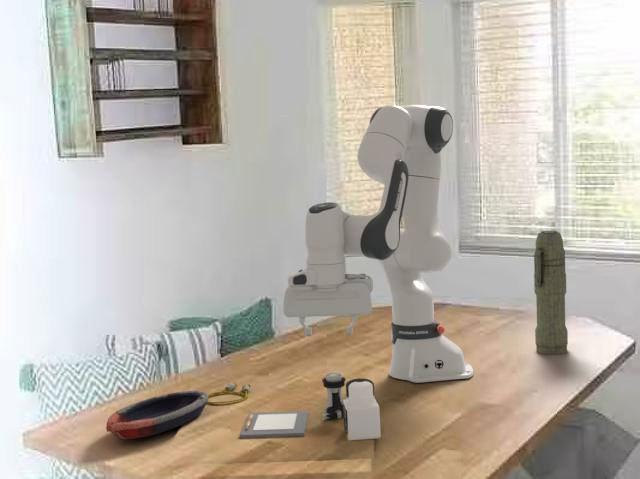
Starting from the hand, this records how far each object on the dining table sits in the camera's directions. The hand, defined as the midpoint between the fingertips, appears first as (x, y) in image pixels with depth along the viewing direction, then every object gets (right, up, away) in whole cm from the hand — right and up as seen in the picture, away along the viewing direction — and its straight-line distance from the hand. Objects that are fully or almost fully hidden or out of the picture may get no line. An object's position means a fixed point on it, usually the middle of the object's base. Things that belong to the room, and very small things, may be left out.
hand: (329, 335), depth 204 cm
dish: (-40, -22, +4) cm, 46 cm away
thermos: (+65, -11, +53) cm, 84 cm away
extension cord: (-25, -19, +25) cm, 40 cm away
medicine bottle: (+7, -21, -10) cm, 24 cm away
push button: (+1, -20, +2) cm, 20 cm away
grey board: (-12, -20, -1) cm, 24 cm away
